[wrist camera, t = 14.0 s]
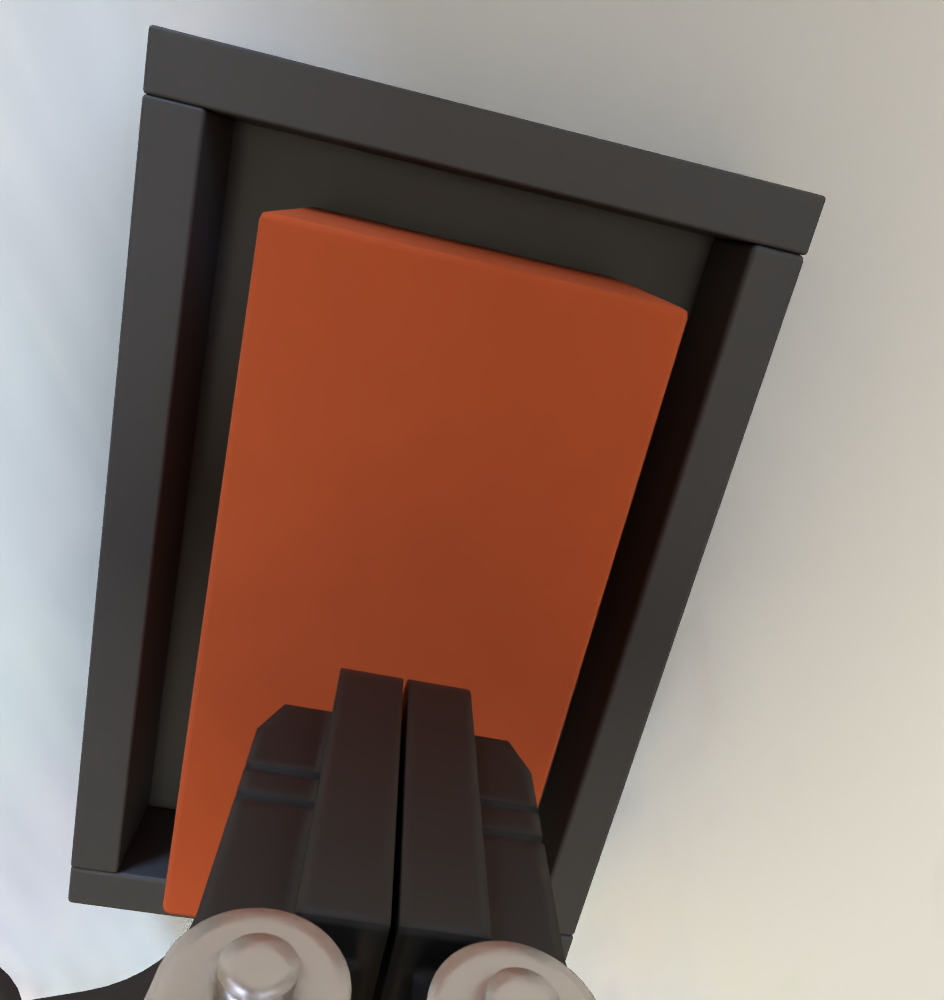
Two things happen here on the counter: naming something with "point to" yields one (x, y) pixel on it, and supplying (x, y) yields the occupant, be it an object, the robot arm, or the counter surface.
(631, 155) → the tray
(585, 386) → the orange-red rectangular block
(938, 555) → the counter surface
